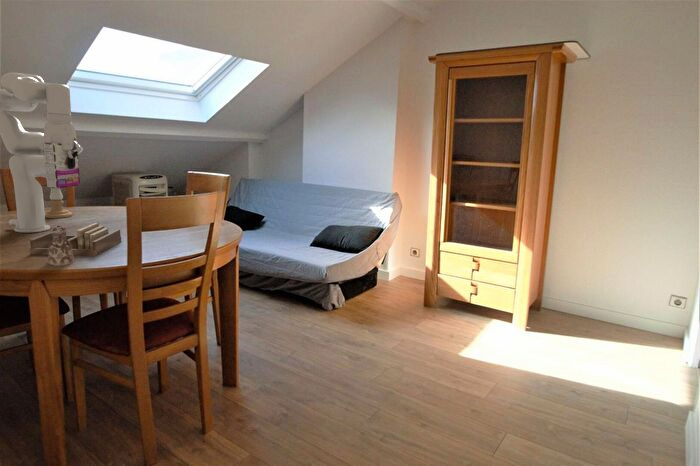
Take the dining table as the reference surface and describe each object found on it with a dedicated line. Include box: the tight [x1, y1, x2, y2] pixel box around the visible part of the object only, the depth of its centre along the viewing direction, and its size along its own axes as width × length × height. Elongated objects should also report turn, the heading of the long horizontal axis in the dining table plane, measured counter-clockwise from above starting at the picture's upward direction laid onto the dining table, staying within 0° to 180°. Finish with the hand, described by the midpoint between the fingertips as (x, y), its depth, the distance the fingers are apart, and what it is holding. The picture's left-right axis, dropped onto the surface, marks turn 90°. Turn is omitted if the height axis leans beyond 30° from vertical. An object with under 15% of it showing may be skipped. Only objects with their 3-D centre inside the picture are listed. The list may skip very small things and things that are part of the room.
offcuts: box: [76, 222, 109, 250], centre depth 172 cm, size 5×14×8 cm, turn 5°
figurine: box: [47, 225, 75, 267], centre depth 152 cm, size 7×7×12 cm
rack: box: [29, 227, 122, 257], centre depth 172 cm, size 22×22×5 cm
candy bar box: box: [43, 143, 81, 189], centre depth 175 cm, size 11×5×16 cm, turn 167°
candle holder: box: [43, 176, 73, 219], centre depth 225 cm, size 12×12×20 cm
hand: (62, 167), depth 175 cm, fingers closed on candy bar box, 5 cm apart
